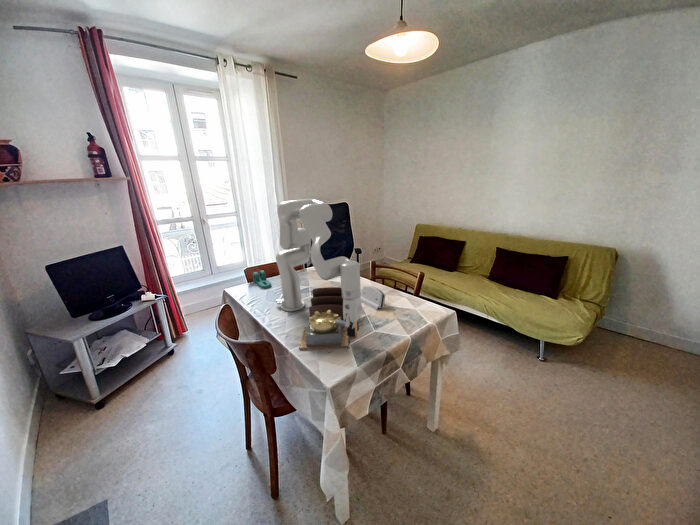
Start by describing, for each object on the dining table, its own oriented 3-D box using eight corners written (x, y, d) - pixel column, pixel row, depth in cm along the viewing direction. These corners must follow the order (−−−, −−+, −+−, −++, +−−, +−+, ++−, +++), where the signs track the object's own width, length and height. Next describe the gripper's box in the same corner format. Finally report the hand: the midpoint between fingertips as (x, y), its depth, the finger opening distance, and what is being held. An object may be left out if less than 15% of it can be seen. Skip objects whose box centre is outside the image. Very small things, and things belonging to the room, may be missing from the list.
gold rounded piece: (305, 337, 116) (303, 320, 113) (318, 322, 126) (317, 306, 124) (352, 345, 108) (351, 327, 106) (362, 329, 119) (361, 313, 117)
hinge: (357, 300, 155) (361, 282, 154) (363, 300, 157) (367, 283, 156) (376, 310, 141) (381, 291, 140) (383, 310, 144) (388, 292, 143)
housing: (299, 349, 112) (297, 336, 110) (305, 329, 127) (303, 317, 126) (348, 347, 112) (347, 334, 110) (348, 327, 127) (347, 315, 125)
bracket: (253, 282, 189) (251, 271, 187) (263, 279, 193) (261, 269, 190) (262, 290, 175) (261, 278, 173) (273, 287, 179) (271, 275, 176)
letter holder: (314, 311, 144) (312, 286, 140) (352, 312, 142) (351, 286, 137) (309, 321, 134) (307, 294, 130) (350, 322, 132) (349, 294, 128)
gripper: (353, 302, 100) (355, 346, 105) (366, 285, 114) (367, 324, 120) (334, 300, 102) (337, 343, 108) (349, 283, 117) (351, 322, 122)
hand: (353, 332), depth 114 cm, fingers closed on gold rounded piece, 3 cm apart
